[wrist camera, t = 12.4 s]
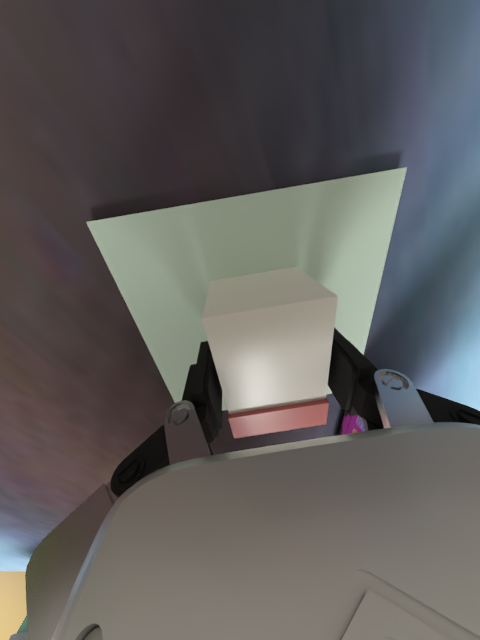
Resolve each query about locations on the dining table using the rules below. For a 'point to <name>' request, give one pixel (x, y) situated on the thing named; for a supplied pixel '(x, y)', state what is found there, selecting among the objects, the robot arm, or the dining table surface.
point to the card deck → (271, 349)
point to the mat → (250, 257)
